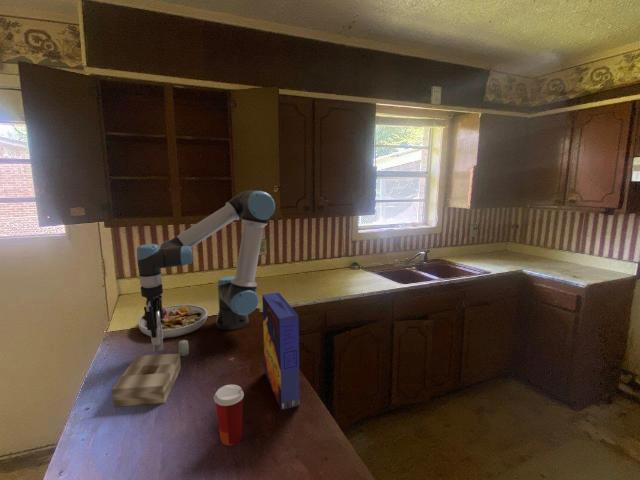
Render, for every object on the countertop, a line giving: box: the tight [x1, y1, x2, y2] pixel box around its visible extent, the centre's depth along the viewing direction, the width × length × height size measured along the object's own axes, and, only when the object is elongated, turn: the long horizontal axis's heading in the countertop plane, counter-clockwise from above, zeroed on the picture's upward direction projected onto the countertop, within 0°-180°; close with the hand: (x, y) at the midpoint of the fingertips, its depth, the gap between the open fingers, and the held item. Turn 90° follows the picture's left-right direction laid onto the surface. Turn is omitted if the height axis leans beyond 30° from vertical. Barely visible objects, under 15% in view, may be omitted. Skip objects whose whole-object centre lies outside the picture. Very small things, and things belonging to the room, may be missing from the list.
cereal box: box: [262, 292, 301, 411], centre depth 115 cm, size 22×6×30 cm, turn 22°
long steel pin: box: [152, 310, 164, 353], centre depth 137 cm, size 4×4×16 cm
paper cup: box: [213, 384, 245, 447], centre depth 94 cm, size 8×8×14 cm
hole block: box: [111, 352, 182, 408], centre depth 118 cm, size 15×20×6 cm
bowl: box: [138, 304, 208, 339], centre depth 165 cm, size 30×30×8 cm
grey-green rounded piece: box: [177, 339, 190, 357], centre depth 139 cm, size 4×4×5 cm
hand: (157, 341), depth 137 cm, fingers closed on long steel pin, 3 cm apart
